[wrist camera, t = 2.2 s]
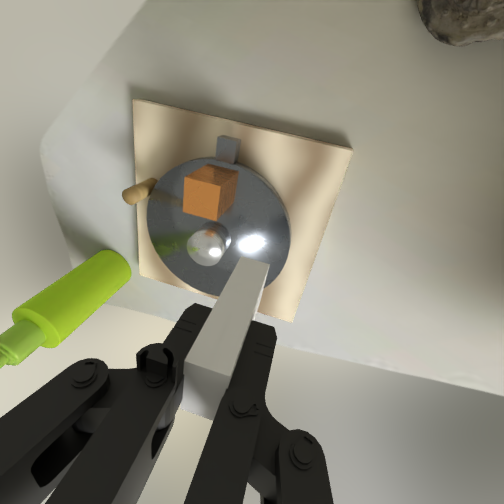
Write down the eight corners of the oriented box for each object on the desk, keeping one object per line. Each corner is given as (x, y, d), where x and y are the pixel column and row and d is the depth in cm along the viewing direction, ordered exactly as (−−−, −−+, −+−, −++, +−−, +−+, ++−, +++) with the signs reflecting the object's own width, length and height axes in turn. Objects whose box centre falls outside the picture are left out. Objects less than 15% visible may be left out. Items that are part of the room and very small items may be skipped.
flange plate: (273, 305, 34) (262, 345, 29) (154, 268, 36) (122, 299, 31) (316, 157, 25) (312, 175, 20) (153, 118, 27) (107, 124, 21)
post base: (352, 148, 27) (357, 161, 21) (293, 315, 38) (287, 349, 33) (141, 99, 29) (101, 100, 24) (145, 269, 41) (119, 294, 35)
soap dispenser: (141, 267, 41) (5, 391, 24) (119, 289, 44) (-13, 411, 27) (109, 238, 39) (-58, 347, 22) (90, 263, 43) (-69, 374, 26)
